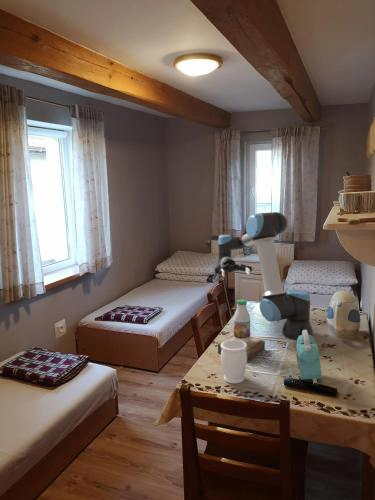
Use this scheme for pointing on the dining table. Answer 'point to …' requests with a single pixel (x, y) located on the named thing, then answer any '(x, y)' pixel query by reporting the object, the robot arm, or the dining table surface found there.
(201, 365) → the dining table surface
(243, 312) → the milk bottle
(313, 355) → the alarm clock
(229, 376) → the jar
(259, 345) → the walnut stand
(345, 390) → the dining table surface
